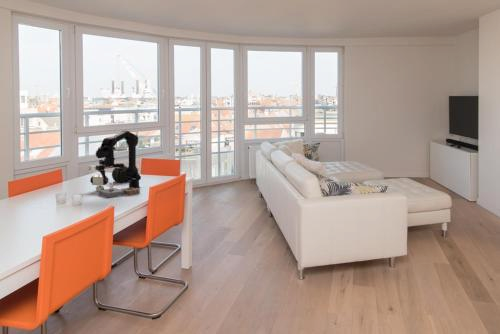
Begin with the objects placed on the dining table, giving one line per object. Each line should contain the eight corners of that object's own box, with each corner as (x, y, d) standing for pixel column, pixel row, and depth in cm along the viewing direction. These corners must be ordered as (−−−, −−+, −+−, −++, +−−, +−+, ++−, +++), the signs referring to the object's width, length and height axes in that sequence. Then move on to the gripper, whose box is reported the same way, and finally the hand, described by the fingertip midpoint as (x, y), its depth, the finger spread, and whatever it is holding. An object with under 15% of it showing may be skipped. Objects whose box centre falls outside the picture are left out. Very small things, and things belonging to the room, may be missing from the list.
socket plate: (114, 191, 307) (114, 187, 306) (124, 195, 297) (124, 190, 297) (98, 194, 298) (98, 190, 298) (108, 197, 289) (108, 193, 288)
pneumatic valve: (106, 191, 307) (105, 175, 306) (90, 191, 309) (89, 174, 307) (109, 190, 313) (108, 173, 311) (94, 189, 314) (93, 173, 312)
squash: (132, 176, 336) (130, 160, 344) (112, 178, 332) (110, 162, 339) (132, 185, 348) (130, 170, 355) (113, 187, 343) (111, 171, 351)
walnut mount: (132, 191, 309) (132, 187, 308) (139, 193, 302) (139, 189, 301) (120, 193, 303) (120, 189, 302) (128, 195, 296) (127, 191, 295)
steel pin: (112, 194, 299) (111, 182, 298) (114, 194, 298) (113, 182, 296) (109, 194, 298) (108, 182, 296) (110, 195, 296) (110, 183, 295)
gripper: (116, 154, 306) (117, 175, 308) (91, 156, 293) (92, 179, 295) (124, 155, 298) (125, 177, 300) (98, 158, 285) (99, 181, 287)
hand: (110, 179), depth 296 cm, fingers open, 9 cm apart
